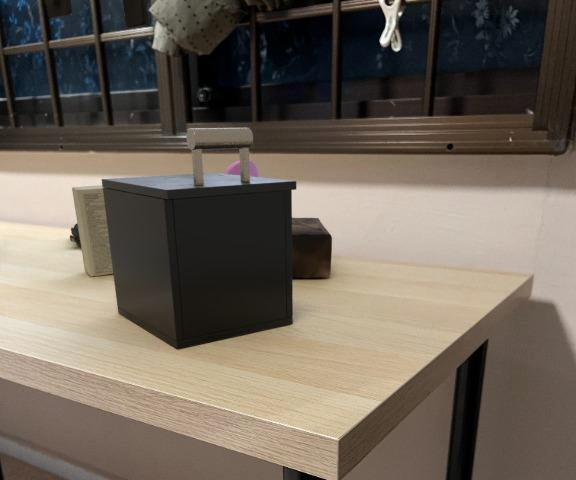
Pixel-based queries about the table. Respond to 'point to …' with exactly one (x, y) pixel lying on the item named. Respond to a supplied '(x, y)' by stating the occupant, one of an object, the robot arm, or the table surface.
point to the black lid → (205, 182)
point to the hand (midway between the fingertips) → (101, 21)
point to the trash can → (202, 263)
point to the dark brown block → (310, 248)
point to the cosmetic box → (93, 229)
